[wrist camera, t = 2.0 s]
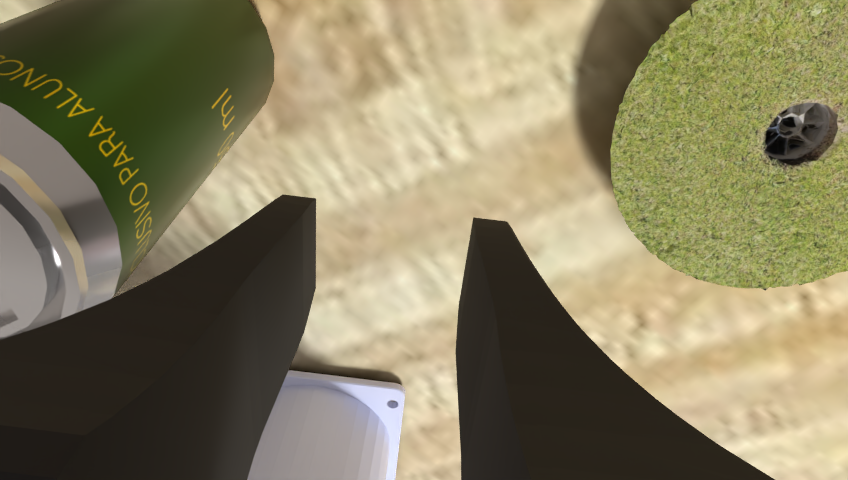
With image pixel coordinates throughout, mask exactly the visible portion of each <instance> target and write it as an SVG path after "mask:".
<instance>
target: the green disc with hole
mask: <svg viewBox="0 0 848 480" xmlns="http://www.w3.org/2000/svg"><path fill="white" fill-rule="evenodd" d="M610 152H611V180H612V184H613V192H614V193H615V198H616V200H617V202H618V207H619V210H620V211H621V213H622V215H623V217H624V218H625V222H626V224H627V225H628V227H629V228H630V230H631V231H632V232H635V234H634V235H635V236H636V237H637V239H638V240H640V241H641V242H642V243H643V244H644V245H645V246H646V248H647V249H648V250H649V251H650V252H651V253H652V254H654V255H657V257H658V258H659V259H660V260H662V261H664V262H665V263H666V264H667V265H669V266H670V267H672V268H673V269H675V270H678V271H680V272H683V273H686V276H687V275H691V276H693V277H695V278H696V279H699V280H703V281H707V282H711V283H715V284H718V285H723V286H731V287H737V288H762V289H764V290H766V289H767V288H769V287H772V288H775V287H780V286H786V287H787V286H792V285H794V284H797V283H798V284H799V285H802V284H805V283H810V282H814V281H816V280H817V279H824V278H827V277H829V276H831V275H833V274H835V273H839V272H844V271H848V0H698V1H696V2H694V3H693V4H691V6H690V8H689V10H688V11H687V12H685V13H684V14H682V15H680V16H679V17H677V18H676V19H675V21H674V22H673V23H671V24H669V29H668V30H667V31H666V33H665V34H661V36H660V39H659V40H658V41H657V42H655V43H654V44H653V45H652V46H651V48H650V49H649V51H648V55H647V57H646V58H645V60H644V61H643V62H642V63H641V64H640V66H639V67H638V69H637V71H636V73H635V76H634V78H633V79H632V81H631V82H630V84H629V85H628V87H627V90H626V92H625V95H624V98H623V101H622V103H621V104H620V105H619V113H618V114H617V115H616V120H615V127H614V130H613V134H612V144H611V150H610Z"/></svg>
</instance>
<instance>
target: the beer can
mask: <svg viewBox="0 0 848 480" xmlns="http://www.w3.org/2000/svg"><path fill="white" fill-rule="evenodd" d="M273 82H274V53H273V49H272V46H271V43H270V39H269V36H268V33H267V29H266V27H265V25H264V24H263V22H262V21H261V19H260V17H259V16H258V14H257V13H256V11H255V9H254V8H253V6H252V5H251V3H250V2H249V1H248V0H60V1H57V2H55V3H52V4H50V5H47V6H45V7H42V8H39V9H37V10H34V11H32V12H29V13H27V14H24V15H22V16H19V17H17V18H14V19H11V20H9V21H6V22H4V23H1V24H0V340H1V339H4V338H7V337H11V336H14V335H17V334H20V333H23V332H26V331H29V330H32V329H35V328H38V327H41V326H44V325H46V324H49V323H52V322H55V321H57V320H60V319H62V318H65V317H67V316H70V315H72V314H75V313H77V312H80V311H82V310H85V309H87V308H90V307H92V306H95V305H97V304H100V303H102V302H105V301H107V300H109V299H111V298H112V297H113V296H114V295H115V294H116V292H117V291H118V290H119V289H120V287H121V286H122V285H123V284H124V282H125V281H126V280H127V278H128V277H129V276H130V275H131V273H132V272H133V271H134V270H135V268H136V267H137V266H138V265H139V263H140V262H141V261H142V259H143V258H144V257H145V256H146V254H147V253H148V252H149V251H150V249H151V248H152V247H153V245H154V244H155V243H156V242H157V240H158V239H159V238H160V237H161V235H162V234H163V233H164V231H165V230H166V229H167V228H168V226H169V225H170V224H171V223H172V221H173V220H174V219H175V217H176V216H177V215H178V214H179V212H180V211H181V210H182V209H183V207H184V206H185V205H186V204H187V202H188V201H189V200H190V198H191V197H192V196H193V195H194V193H195V192H196V191H197V190H198V188H199V187H200V186H201V184H202V183H203V182H204V181H205V179H206V178H207V177H208V176H209V174H210V173H211V172H212V170H213V169H214V168H215V167H216V165H217V164H218V163H219V162H220V160H221V159H222V158H223V156H224V155H225V154H226V153H227V151H228V150H229V149H230V148H231V146H232V145H233V144H234V142H235V141H236V140H237V139H238V137H239V136H240V135H241V134H242V132H243V131H244V130H245V129H246V127H247V126H248V125H249V123H250V122H251V121H252V120H253V118H254V117H255V116H256V115H257V113H258V112H259V111H260V109H261V108H262V107H263V106H264V104H265V103H266V100H267V98H268V95H269V92H270V90H271V87H272V84H273Z"/></svg>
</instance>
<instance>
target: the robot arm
mask: <svg viewBox="0 0 848 480" xmlns="http://www.w3.org/2000/svg"><path fill="white" fill-rule="evenodd" d="M315 288H316V199H315V198H307V197H298V196H290V195H282V196H280V197H278V198H277V199H275V200H274V201H273V202H271V203H270V204H268V205H267V206H266V207H264V208H263V209H261V210H260V211H259V212H257V213H256V214H255V215H253V216H252V217H250V218H249V219H248V220H246V221H245V222H243V223H242V224H240V225H239V226H238V227H236V228H235V229H233V230H232V231H230V232H229V233H227V234H226V235H224V236H223V237H222V238H220V239H219V240H217V241H216V242H214V243H213V244H211V245H209V246H208V247H206V248H204V249H203V250H201V251H200V252H198V253H196V254H195V255H193V256H191V257H190V258H188V259H186V260H185V261H183V262H181V263H180V264H178V265H177V266H175V267H173V268H172V269H170V270H168V271H166V272H164V273H163V274H161V275H159V276H157V277H155V278H153V279H151V280H149V281H147V282H145V283H143V284H141V285H139V286H137V287H135V288H133V289H131V290H129V291H127V292H125V293H123V294H121V295H118V296H116V297H114V298H112V299H109V300H107V301H105V302H102V303H100V304H97V305H95V306H92V307H90V308H87V309H85V310H82V311H80V312H77V313H75V314H72V315H70V316H67V317H65V318H62V319H60V320H57V321H55V322H52V323H49V324H46V325H44V326H41V327H38V328H35V329H32V330H29V331H26V332H23V333H20V334H17V335H14V336H11V337H7V338H4V339H1V340H0V480H395V476H396V467H397V459H398V450H399V442H400V433H401V425H402V416H403V408H404V399H405V389H404V387H403V386H401V385H400V384H397V383H391V382H383V381H375V380H367V379H358V378H350V377H342V376H334V375H326V374H317V373H309V372H301V371H293V370H289V368H290V365H291V363H292V360H293V358H294V356H295V353H296V351H297V348H298V346H299V343H300V341H301V338H302V336H303V333H304V330H305V326H306V323H307V319H308V315H309V312H310V308H311V304H312V300H313V296H314V292H315ZM456 367H457V387H458V406H459V424H460V443H461V480H774V479H773V478H771V477H770V476H768V475H766V474H765V473H763V472H762V471H760V470H758V469H757V468H755V467H753V466H752V465H750V464H749V463H747V462H745V461H744V460H742V459H741V458H739V457H737V456H736V455H734V454H732V453H731V452H729V451H728V450H726V449H724V448H723V447H721V446H720V445H718V444H717V443H715V442H714V441H712V440H711V439H709V438H708V437H707V436H705V435H704V434H702V433H701V432H700V431H698V430H697V429H695V428H694V427H693V426H691V425H690V424H688V423H687V422H686V421H684V420H683V419H681V418H680V417H679V416H677V415H676V414H675V413H673V412H672V411H671V410H670V409H668V408H667V407H666V406H664V405H663V404H662V403H661V402H659V401H658V400H657V399H655V398H654V397H653V396H652V395H651V394H649V393H648V392H647V391H646V390H645V389H644V388H642V387H641V386H640V385H639V384H638V383H637V382H635V381H634V380H633V379H632V378H631V377H630V376H628V375H627V374H626V373H625V372H624V371H623V370H622V369H621V368H620V367H618V366H617V365H616V364H615V363H614V362H613V361H612V360H611V359H610V358H609V357H608V356H607V355H606V354H605V353H604V352H603V351H602V350H601V349H600V348H599V347H598V346H597V345H596V344H595V343H594V342H593V341H592V340H591V339H590V338H589V337H588V336H587V335H586V334H585V332H584V331H583V330H582V329H581V328H580V327H579V326H578V325H577V323H576V322H575V321H574V320H573V319H572V317H571V316H570V315H569V314H568V312H567V311H566V310H565V309H564V307H563V306H562V305H561V304H560V302H559V301H558V300H557V298H556V297H555V296H554V294H553V293H552V291H551V290H550V289H549V287H548V286H547V284H546V283H545V281H544V280H543V278H542V277H541V276H540V274H539V273H538V271H537V270H536V268H535V267H534V265H533V263H532V262H531V260H530V259H529V257H528V255H527V254H526V252H525V251H524V249H523V247H522V246H521V244H520V242H519V240H518V239H517V237H516V235H515V233H514V231H513V230H512V228H511V227H510V225H509V224H508V223H507V222H505V221H497V220H489V219H481V218H473V223H472V229H471V235H470V241H469V247H468V253H467V259H466V265H465V271H464V277H463V283H462V289H461V295H460V301H459V310H458V324H457V339H456ZM390 400H394V401H396V402H392V401H390Z"/></svg>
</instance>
